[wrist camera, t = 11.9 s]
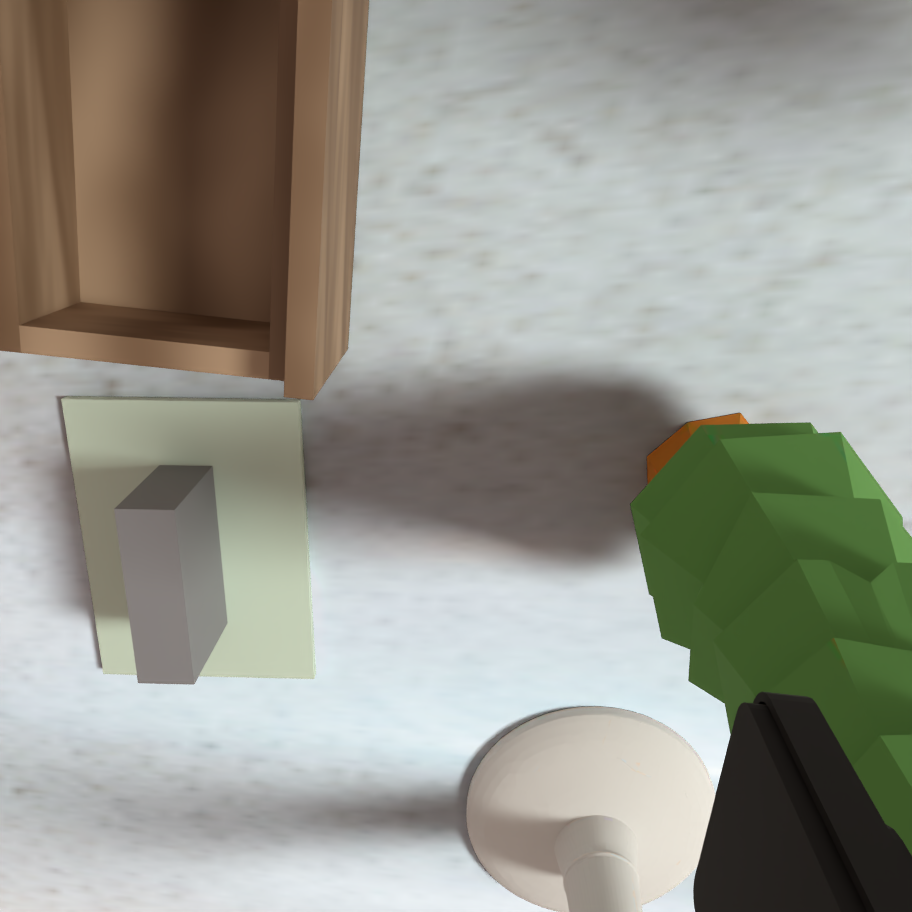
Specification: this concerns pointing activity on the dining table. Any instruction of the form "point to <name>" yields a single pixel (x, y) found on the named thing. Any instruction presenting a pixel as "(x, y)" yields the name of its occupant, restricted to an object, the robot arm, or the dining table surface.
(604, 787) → the candlestick
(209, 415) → the cover plate
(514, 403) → the dining table surface
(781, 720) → the robot arm
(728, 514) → the decorative tree
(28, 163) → the walnut box
